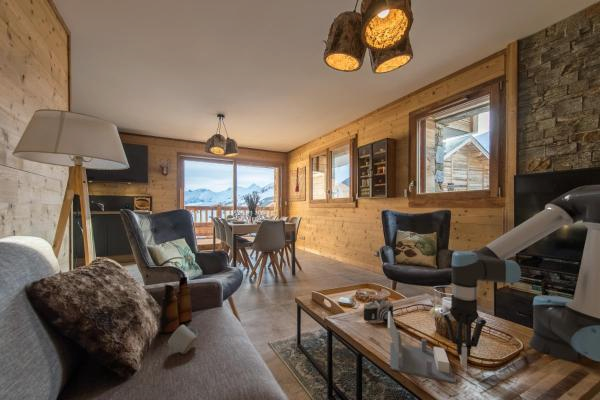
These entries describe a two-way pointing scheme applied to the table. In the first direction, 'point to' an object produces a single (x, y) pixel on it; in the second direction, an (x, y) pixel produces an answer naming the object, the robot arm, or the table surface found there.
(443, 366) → the pale wooden block
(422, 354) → the grey open box
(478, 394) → the table surface
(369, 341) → the table surface
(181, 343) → the ceramic mug
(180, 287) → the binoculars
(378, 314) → the camera
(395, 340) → the cover
